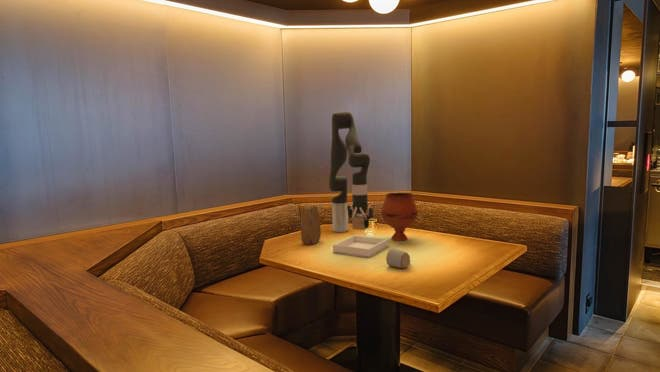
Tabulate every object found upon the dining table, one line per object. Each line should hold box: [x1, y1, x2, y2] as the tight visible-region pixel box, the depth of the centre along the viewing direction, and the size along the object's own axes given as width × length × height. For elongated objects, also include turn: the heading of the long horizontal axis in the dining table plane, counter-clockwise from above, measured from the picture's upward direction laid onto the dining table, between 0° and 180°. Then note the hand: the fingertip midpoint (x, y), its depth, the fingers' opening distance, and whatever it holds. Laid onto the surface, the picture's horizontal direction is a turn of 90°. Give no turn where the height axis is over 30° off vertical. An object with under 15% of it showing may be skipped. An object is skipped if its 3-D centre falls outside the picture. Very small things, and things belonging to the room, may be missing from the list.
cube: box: [351, 214, 370, 231], centre depth 212 cm, size 6×6×6 cm
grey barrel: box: [385, 248, 411, 269], centre depth 185 cm, size 11×8×8 cm
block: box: [300, 205, 322, 245], centre depth 230 cm, size 11×8×20 cm
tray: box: [332, 234, 390, 259], centre depth 213 cm, size 22×20×4 cm
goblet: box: [381, 192, 418, 241], centre depth 231 cm, size 19×19×25 cm
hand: (360, 226), depth 212 cm, fingers closed on cube, 6 cm apart
